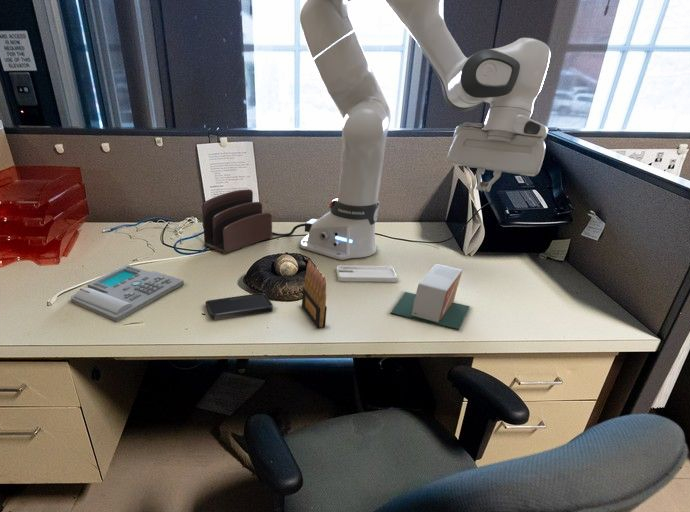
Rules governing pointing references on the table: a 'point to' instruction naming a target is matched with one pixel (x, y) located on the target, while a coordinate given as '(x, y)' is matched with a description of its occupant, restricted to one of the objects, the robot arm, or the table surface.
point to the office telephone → (124, 291)
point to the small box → (436, 292)
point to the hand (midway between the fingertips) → (482, 190)
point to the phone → (238, 306)
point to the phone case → (367, 274)
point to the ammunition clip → (315, 296)
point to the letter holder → (234, 221)
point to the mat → (449, 320)
